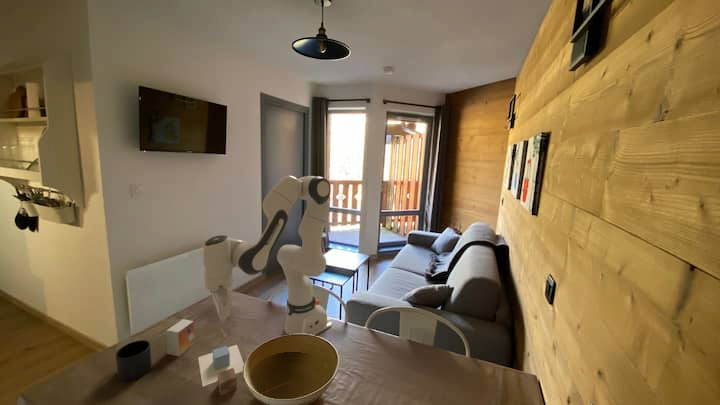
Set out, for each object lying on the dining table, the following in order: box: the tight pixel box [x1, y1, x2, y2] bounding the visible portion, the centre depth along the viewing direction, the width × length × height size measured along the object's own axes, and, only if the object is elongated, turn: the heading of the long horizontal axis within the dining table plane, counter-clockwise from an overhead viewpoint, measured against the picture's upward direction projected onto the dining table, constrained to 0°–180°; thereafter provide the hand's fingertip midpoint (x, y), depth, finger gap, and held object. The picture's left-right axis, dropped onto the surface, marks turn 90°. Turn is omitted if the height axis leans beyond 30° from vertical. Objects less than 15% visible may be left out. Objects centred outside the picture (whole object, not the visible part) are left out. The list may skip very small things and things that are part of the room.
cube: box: [212, 345, 230, 370], centre depth 102 cm, size 5×5×5 cm
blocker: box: [217, 368, 238, 397], centre depth 92 cm, size 5×5×5 cm
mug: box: [115, 339, 153, 383], centre depth 96 cm, size 9×12×9 cm
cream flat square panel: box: [198, 344, 245, 388], centre depth 102 cm, size 14×16×1 cm
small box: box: [165, 318, 196, 357], centre depth 108 cm, size 8×6×10 cm
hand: (221, 315), depth 99 cm, fingers open, 8 cm apart
